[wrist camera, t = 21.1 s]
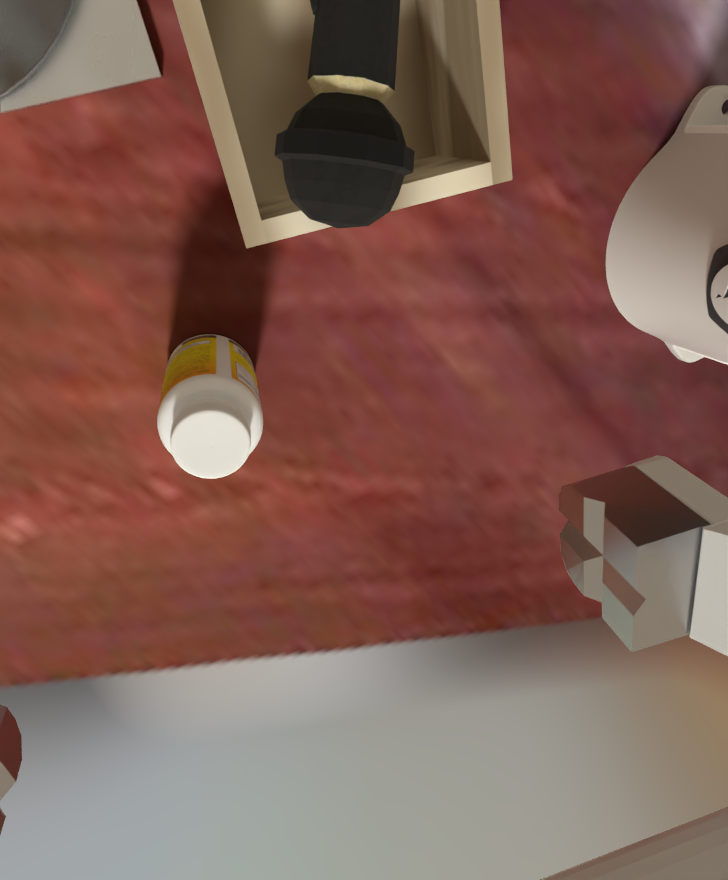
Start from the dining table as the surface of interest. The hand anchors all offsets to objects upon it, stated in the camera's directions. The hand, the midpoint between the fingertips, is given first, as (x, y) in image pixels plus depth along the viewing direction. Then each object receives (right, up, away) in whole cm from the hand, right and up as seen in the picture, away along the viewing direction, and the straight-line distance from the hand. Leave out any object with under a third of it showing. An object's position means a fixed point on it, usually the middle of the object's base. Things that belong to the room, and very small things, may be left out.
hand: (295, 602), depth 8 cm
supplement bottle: (-9, +7, +31) cm, 33 cm away
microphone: (+2, +30, +10) cm, 32 cm away
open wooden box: (-1, +22, +24) cm, 33 cm away
